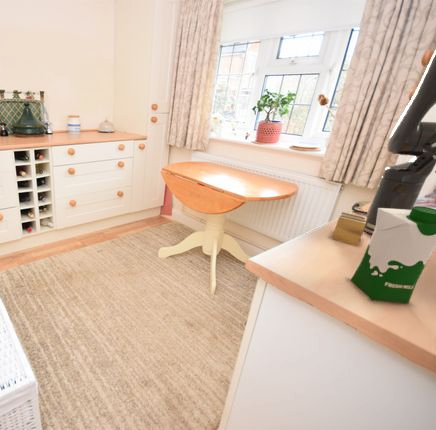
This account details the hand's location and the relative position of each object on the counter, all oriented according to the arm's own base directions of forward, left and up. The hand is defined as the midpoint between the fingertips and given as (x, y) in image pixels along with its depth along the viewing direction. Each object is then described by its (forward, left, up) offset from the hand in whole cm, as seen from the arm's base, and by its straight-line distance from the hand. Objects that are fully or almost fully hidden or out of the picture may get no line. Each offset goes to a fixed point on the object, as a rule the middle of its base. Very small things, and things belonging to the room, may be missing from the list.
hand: (426, 173), depth 61 cm
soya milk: (+10, 0, -25) cm, 27 cm away
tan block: (-16, -9, -25) cm, 31 cm away
